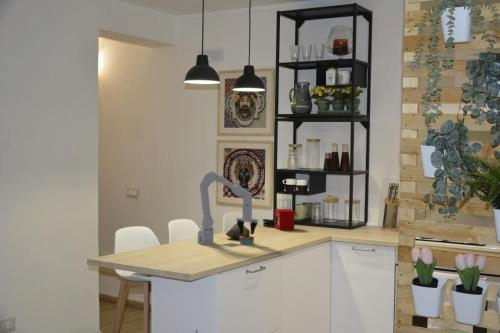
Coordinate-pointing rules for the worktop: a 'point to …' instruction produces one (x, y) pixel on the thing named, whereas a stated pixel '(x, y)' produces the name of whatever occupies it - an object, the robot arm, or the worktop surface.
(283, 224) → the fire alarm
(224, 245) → the mat
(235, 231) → the stone
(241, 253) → the worktop surface
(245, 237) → the lid
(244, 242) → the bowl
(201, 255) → the worktop surface
